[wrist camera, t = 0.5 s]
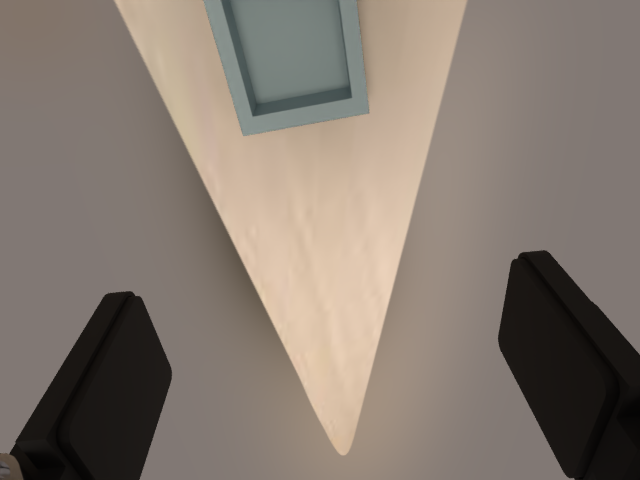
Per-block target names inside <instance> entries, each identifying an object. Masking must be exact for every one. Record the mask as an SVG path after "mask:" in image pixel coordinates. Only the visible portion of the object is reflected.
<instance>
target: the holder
mask: <svg viewBox="0 0 640 480" xmlns="http://www.w3.org/2000/svg"><path fill="white" fill-rule="evenodd" d="M203 1H204V4H205V8H206V11H207V14H208V18H209V21H210V25H211V28H212V31H213V35H214V38H215V42H216V45H217V49H218V52H219V55H220V59H221V62H222V66H223V69H224V72H225V76H226V79H227V83H228V86H229V89H230V93H231V96H232V100H233V103H234V107H235V110H236V113H237V117H238V120H239V124H240V127H241V130H242V134H243V136H247V135H252V134H258V133H263V132H269V131H274V130H280V129H285V128H291V127H296V126H302V125H307V124H313V123H318V122H324V121H329V120H335V119H340V118H346V117H351V116H357V115H362V114H368V113H369V105H368V96H367V88H366V79H365V70H364V61H363V53H362V44H361V35H360V27H359V18H358V9H357V0H203Z"/></svg>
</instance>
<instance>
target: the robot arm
mask: <svg viewBox="0 0 640 480" xmlns="http://www.w3.org/2000/svg"><path fill="white" fill-rule="evenodd" d="M498 342H499V347H500V350H501V352H502V354H503V356H504V358H505V360H506V362H507V364H508V366H509V367H510V370H511V371H512V373H513V375H514V377H515V379H516V381H517V383H518V385H519V387H520V389H521V391H522V393H523V395H524V397H525V398H526V400H527V402H528V404H529V406H530V408H531V410H532V412H533V414H534V416H535V418H536V420H537V422H538V424H539V426H540V427H541V430H542V431H543V433H544V435H545V437H546V439H547V441H548V443H549V445H550V447H551V449H552V451H553V453H554V455H555V457H556V459H557V461H558V462H559V464H560V466H561V468H562V470H563V472H564V473H565V475H566V476H567V477H569V478H574V479H575V480H640V355H639V353H638V352H637V351H636V350H635V349H634V348H633V347H632V345H631V344H630V343H629V342H628V341H627V340H626V339H625V337H624V336H623V335H622V334H621V333H620V331H619V330H618V329H617V328H616V327H615V326H614V325H613V323H612V322H611V321H610V320H609V319H608V318H607V317H606V315H605V314H604V313H603V312H602V311H601V310H600V309H599V307H598V306H597V305H595V304H594V303H593V302H591V301H590V299H589V298H588V297H587V296H586V295H585V294H584V292H583V291H582V290H581V289H580V288H579V287H578V286H577V284H576V283H575V282H574V281H573V280H572V279H571V277H570V276H569V275H568V274H567V273H566V272H565V271H564V269H563V268H562V267H561V266H560V265H559V264H558V262H557V261H556V260H555V259H554V258H553V257H552V256H551V254H550V253H549V252H547V251H545V250H543V251H532V252H523V253H520V254H519V256H518V259H514V260H513V261H512V263H511V267H510V272H509V279H508V284H507V290H506V295H505V301H504V307H503V312H502V318H501V324H500V330H499V335H498ZM171 379H172V370H171V367H170V364H169V362H168V360H167V357H166V354H165V352H164V350H163V348H162V345H161V343H160V340H159V338H158V336H157V333H156V331H155V328H154V326H153V324H152V321H151V319H150V316H149V314H148V312H147V309H146V307H145V305H144V302H143V300H142V298H141V297H140V296H135V295H134V293H133V292H131V291H126V292H116V293H108V294H106V295H105V296H104V297H103V299H102V301H101V302H100V304H99V305H98V307H97V309H96V310H95V312H94V314H93V315H92V317H91V319H90V320H89V322H88V324H87V325H86V327H85V328H84V330H83V332H82V333H81V335H80V337H79V338H78V340H77V342H76V343H75V345H74V346H73V348H72V350H71V351H70V353H69V355H68V356H67V358H66V360H65V361H64V363H63V365H62V366H61V368H60V370H59V371H58V373H57V374H56V376H55V378H54V379H53V381H52V382H51V384H50V386H49V387H48V389H47V391H46V392H45V394H44V396H43V397H42V399H41V400H40V402H39V404H38V405H37V407H36V409H35V410H34V412H33V414H32V415H31V417H30V418H29V420H28V422H27V423H26V425H25V427H24V428H23V430H22V432H21V433H20V435H19V436H18V438H17V440H16V444H15V445H14V447H13V449H12V450H11V452H10V454H7V453H0V480H139V479H140V476H141V473H142V470H143V467H144V464H145V461H146V457H147V454H148V451H149V448H150V445H151V442H152V438H153V436H154V433H155V430H156V427H157V423H158V420H159V417H160V413H161V411H162V408H163V404H164V402H165V398H166V395H167V392H168V389H169V386H170V383H171Z"/></svg>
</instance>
